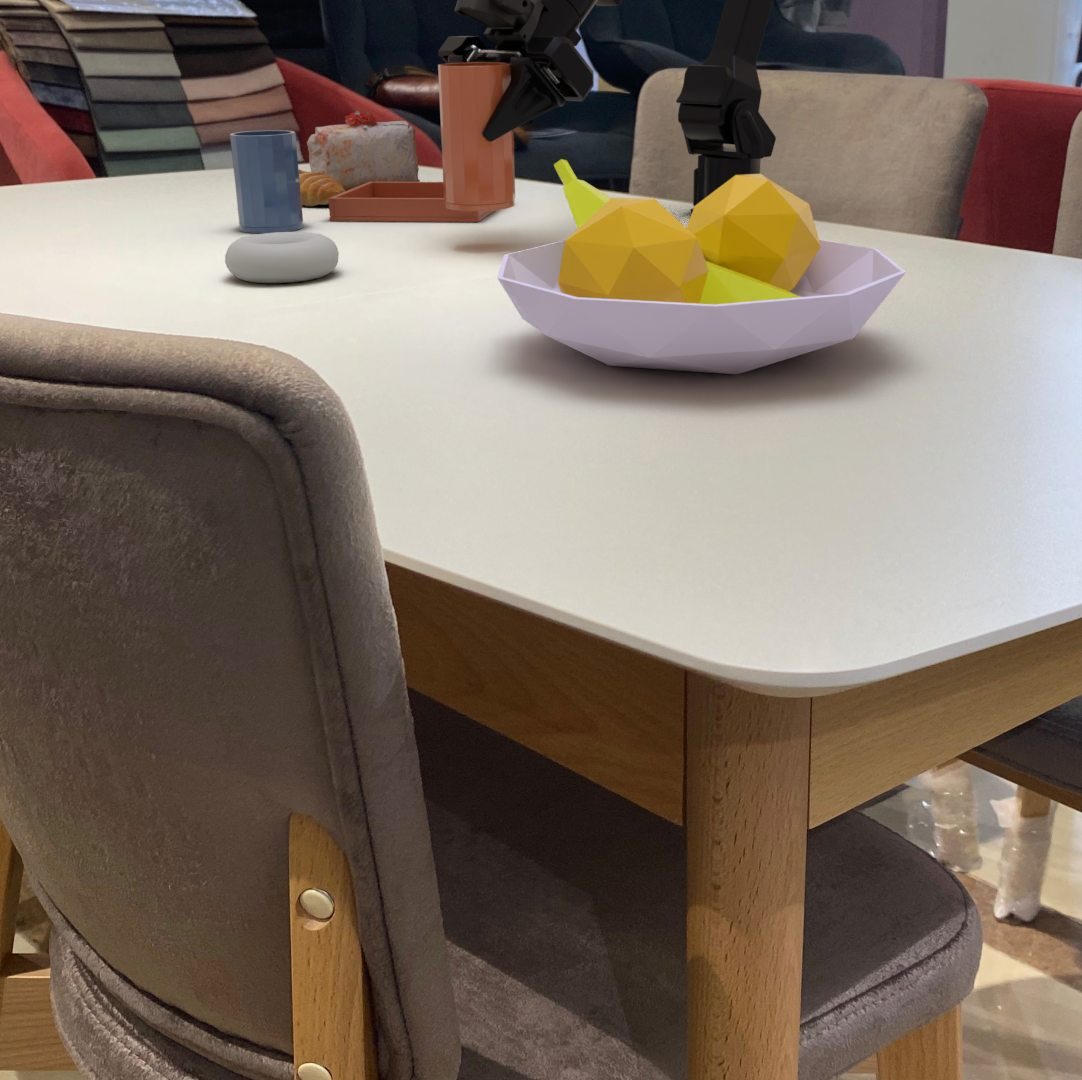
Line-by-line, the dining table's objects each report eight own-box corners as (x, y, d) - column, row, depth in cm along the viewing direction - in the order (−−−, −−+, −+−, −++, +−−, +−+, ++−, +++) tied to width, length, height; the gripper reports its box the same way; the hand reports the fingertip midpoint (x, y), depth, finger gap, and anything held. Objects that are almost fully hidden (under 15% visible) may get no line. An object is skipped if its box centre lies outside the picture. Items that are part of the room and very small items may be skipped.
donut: (307, 291, 110) (359, 267, 119) (303, 250, 109) (356, 229, 117) (205, 285, 113) (263, 263, 122) (200, 245, 112) (259, 225, 121)
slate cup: (315, 225, 143) (308, 131, 140) (274, 235, 138) (265, 136, 134) (269, 222, 147) (260, 129, 143) (226, 231, 141) (216, 135, 137)
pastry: (360, 203, 159) (358, 171, 158) (315, 210, 155) (312, 177, 153) (316, 197, 165) (313, 166, 164) (271, 204, 161) (268, 172, 160)
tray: (506, 203, 157) (506, 182, 156) (478, 222, 143) (477, 199, 143) (370, 202, 160) (369, 181, 159) (329, 220, 147) (328, 198, 146)
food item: (320, 196, 166) (313, 116, 163) (309, 189, 173) (302, 112, 170) (423, 190, 171) (419, 111, 167) (408, 183, 178) (403, 107, 174)
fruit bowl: (977, 377, 80) (998, 188, 76) (558, 421, 73) (555, 217, 69) (775, 292, 105) (783, 146, 101) (448, 319, 98) (441, 164, 94)
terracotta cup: (527, 203, 128) (525, 62, 123) (489, 213, 122) (485, 66, 117) (470, 198, 131) (465, 61, 126) (431, 208, 126) (424, 65, 121)
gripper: (450, -52, 127) (359, 73, 125) (566, -63, 113) (466, 78, 111) (518, 32, 134) (433, 151, 132) (635, 31, 120) (542, 165, 118)
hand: (465, 136), depth 123 cm, fingers closed on terracotta cup, 7 cm apart
